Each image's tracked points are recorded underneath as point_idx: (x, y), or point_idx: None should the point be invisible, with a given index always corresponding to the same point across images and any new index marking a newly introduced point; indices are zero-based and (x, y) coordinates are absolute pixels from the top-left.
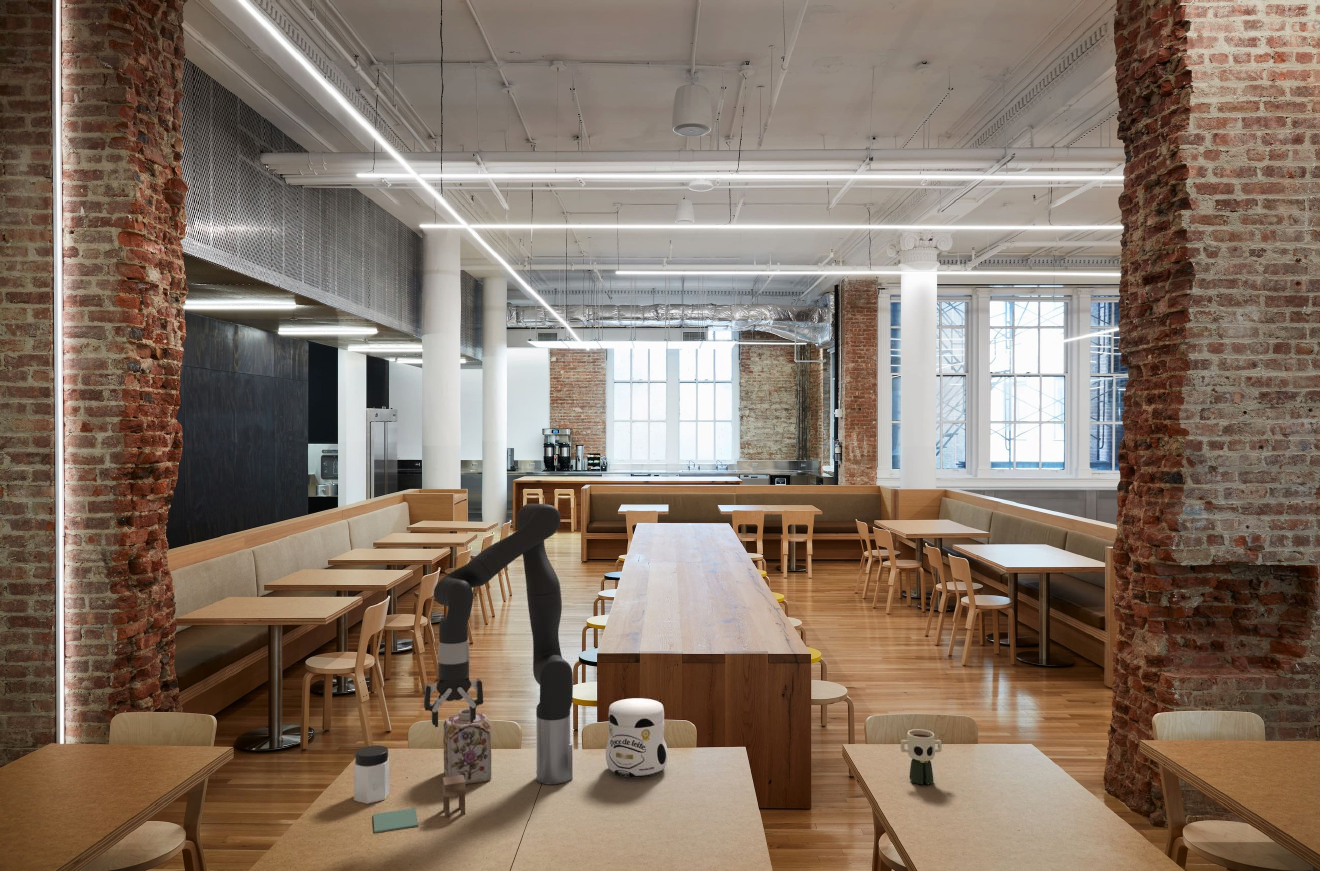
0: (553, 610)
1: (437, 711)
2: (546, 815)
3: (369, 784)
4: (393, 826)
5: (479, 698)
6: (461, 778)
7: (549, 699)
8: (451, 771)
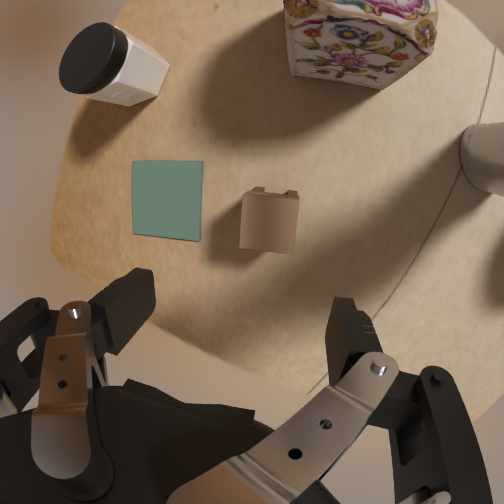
0: None
1: (111, 339)
2: (412, 302)
3: (112, 100)
4: (160, 228)
5: (399, 451)
6: (288, 225)
7: None
8: (296, 65)
